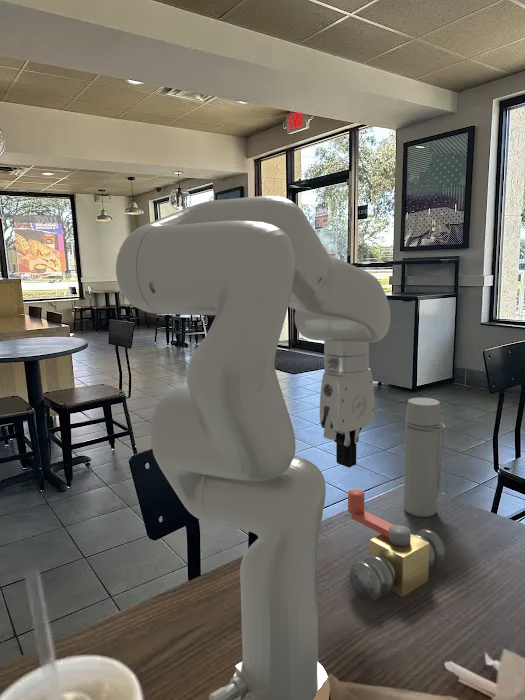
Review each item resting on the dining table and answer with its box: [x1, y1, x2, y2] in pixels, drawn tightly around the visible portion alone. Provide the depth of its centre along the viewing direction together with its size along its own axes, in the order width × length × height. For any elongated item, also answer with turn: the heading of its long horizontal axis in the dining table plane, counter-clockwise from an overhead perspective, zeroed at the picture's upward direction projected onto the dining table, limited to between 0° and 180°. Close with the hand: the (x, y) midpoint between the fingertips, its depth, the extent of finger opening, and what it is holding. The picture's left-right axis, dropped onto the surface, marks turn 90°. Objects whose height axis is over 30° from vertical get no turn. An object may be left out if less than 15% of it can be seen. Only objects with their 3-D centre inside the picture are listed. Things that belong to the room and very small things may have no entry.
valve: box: [349, 528, 446, 603], centre depth 87 cm, size 18×7×7 cm, turn 127°
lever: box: [347, 488, 412, 546], centre depth 90 cm, size 13×4×5 cm, turn 37°
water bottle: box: [403, 397, 449, 518], centre depth 110 cm, size 9×8×25 cm
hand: (346, 464), depth 90 cm, fingers closed
